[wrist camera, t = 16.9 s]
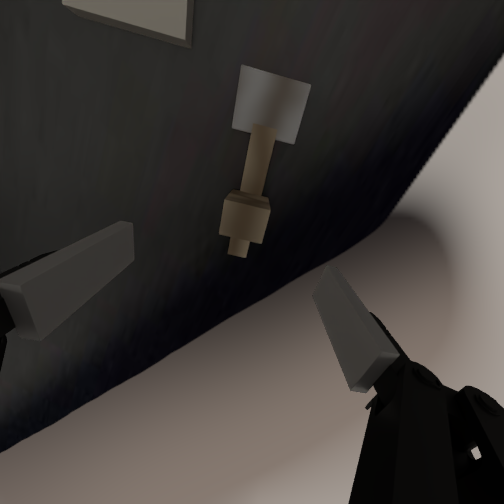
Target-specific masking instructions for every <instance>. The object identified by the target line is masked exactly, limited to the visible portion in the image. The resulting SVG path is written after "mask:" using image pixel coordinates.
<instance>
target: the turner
mask: <svg viewBox="0 0 504 504" xmlns="http://www.w3.org/2000/svg"><path fill="white" fill-rule="evenodd" d="M310 88H311V85H310V84H307V83H303V82H300V81H297V80H293V79H290V78H286V77H283V76H279V75H276V74H272V73H269V72H266V71H262V70H259V69H255V68H252V67H248V66H245V65H241V71H240V77H239V84H238V90H237V97H236V103H235V110H234V116H233V122H232V129H235V130H239V131H243V132H247V133H250V134H251V137H250V142H249V147H248V152H247V157H246V162H245V168H244V173H243V178H242V183H241V188H240V191H239V190H235V189H232V191H231V192H230V193H229V194H228V196H227V197H226V198H225V199H224V205H223V211H222V218H221V224H220V230H219V234H220V235H225V236H229V237H231V239H230V244H229V249H228V254H231V255H235V256H240V257H244V258H246V255H247V251H248V247H249V243H250V241H251V242H256V243H260V244H262V240H263V236H264V233H265V229H266V226H267V222H268V218H269V215H270V211H271V209H270V204H269V199H268V198H267V197H263V196H261V195H262V191H263V186H264V182H265V178H266V174H267V170H268V166H269V162H270V158H271V154H272V150H273V146H274V142H275V140H277V141H280V142H284V143H288V144H292V145H294V143H295V140H296V136H297V133H298V129H299V126H300V122H301V119H302V115H303V112H304V109H305V105H306V102H307V98H308V95H309V91H310Z"/></svg>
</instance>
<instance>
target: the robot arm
mask: <svg viewBox="0 0 504 504" xmlns="http://www.w3.org/2000/svg"><path fill="white" fill-rule="evenodd" d="M134 260H135V257H134V235H133V223H130V222H125V221H118V222H116V223H114V224H112V225H110V226H108V227H106V228H104V229H102V230H100V231H98V232H96V233H94V234H92V235H90V236H87V237H85V238H83V239H81V240H79V241H77V242H75V243H73V244H71V245H69V246H67V247H65V248H63V249H61V250H59V251H53V252H49V253H45V254H42V255H40V256H38V257H35V258H33V259H31V260H30V261H27V262H25V263H22V264H20V265H19V266H16V267H14V268H12V269H10V270H7V271H5V272H3V273H1V274H0V371H1V367H2V362H3V358H4V353H5V349H6V345H7V338H6V335H5V334H6V333H8V332H9V331H11V330H12V329H13V328H16V330H17V333H18V335H19V337H20V338H23V339H29V340H35V341H42V340H43V339H44V338H45V337H46V336H47V335H49V334H50V333H51V332H52V331H53V330H54V329H56V328H57V327H58V326H59V325H60V324H61V323H62V322H64V321H65V320H66V319H67V318H68V317H69V316H71V315H72V314H73V313H74V312H75V311H76V310H77V309H79V308H80V307H81V306H82V305H83V304H84V303H86V302H87V301H88V300H89V299H90V298H91V297H92V296H94V295H95V294H96V293H97V292H98V291H99V290H101V289H102V288H103V287H104V286H105V285H106V284H108V283H109V282H110V281H111V280H112V279H113V278H114V277H116V276H117V275H118V274H119V273H120V272H121V271H123V270H124V269H125V268H126V267H127V266H128V265H129V264H131V263H132V262H133V261H134ZM312 296H313V299H314V301H315V304H316V306H317V309H318V311H319V314H320V316H321V319H322V321H323V324H324V326H325V329H326V331H327V334H328V336H329V339H330V341H331V344H332V346H333V349H334V351H335V353H336V356H337V358H338V361H339V364H340V366H341V368H342V371H343V373H344V376H345V378H346V381H347V383H348V386H349V388H350V391H356V392H362V393H367V392H368V390H369V389H370V388H371V387H372V386H374V388H375V390H376V392H377V395H376V396H375V397H374V398H373V399H372V400H371V401H370V402H369V403H368V404H367V406H366V407H365V408H366V409H367V410H368V409H369V408H370V407H371V411H370V415H369V419H368V424H367V428H366V432H365V436H364V441H363V445H362V449H361V454H360V457H359V462H358V466H357V470H356V474H355V478H354V483H353V487H352V492H351V496H350V500H349V504H504V408H503V407H502V406H500V405H499V404H498V403H497V401H496V400H494V399H493V398H492V397H490V396H489V395H488V394H486V393H484V392H482V391H481V390H479V389H477V388H475V387H472V386H465V387H464V388H462V389H461V390H460V391H459V392H458V391H455V390H453V389H451V388H449V387H446V386H444V385H442V383H441V382H440V380H439V379H438V378H437V377H436V376H435V375H434V374H433V373H432V372H431V371H429V370H428V369H427V368H426V367H424V366H423V365H420V364H419V363H417V362H413V361H411V360H410V359H409V358H408V356H407V355H406V354H405V353H404V351H403V350H402V349H401V347H400V346H399V344H398V343H397V342H396V341H395V339H394V338H393V337H392V336H391V334H390V333H389V331H388V330H386V327H385V326H384V325H383V323H382V322H381V321H380V320H379V319H378V318H377V317H376V316H375V315H374V314H373V313H371V312H369V311H368V310H367V308H366V307H365V306H364V304H363V303H362V302H361V300H360V299H359V297H358V296H357V295H356V293H355V292H354V290H353V289H352V288H351V286H350V285H349V284H348V282H347V281H346V279H345V278H344V277H343V275H342V274H341V272H340V271H339V270H338V268H337V267H332V266H328V265H326V268H325V270H324V272H323V274H322V277H321V278H320V281H319V282H318V285H317V287H316V289H315V291H314V293H313V295H312ZM477 446H478V449H479V451H480V453H481V458H479V459H477V460H475V458H474V457H473V454H472V452H471V450H472V449H473V448H475V447H477Z"/></svg>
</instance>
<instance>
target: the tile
mask: <svg viewBox="0 0 504 504" xmlns="http://www.w3.org/2000/svg"><path fill="white" fill-rule="evenodd" d="M62 4H63V5H64V6H66V7H67V8H68V9H69V10H71V11H72V12H73V13H75V14H76V15H77V16H79V17H82V18H85V19H89V20H92V21H96V22H99V23H103V24H106V25H110V26H113V27H117V28H120V29H123V30H127V31H130V32H134V33H137V34H141V35H144V36H148V37H151V38H155V39H158V40H162V41H165V42H168V43H172V44H175V45H179V46H182V47H186V48H189V49H191V42H192V27H193V11H194V0H62Z"/></svg>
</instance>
